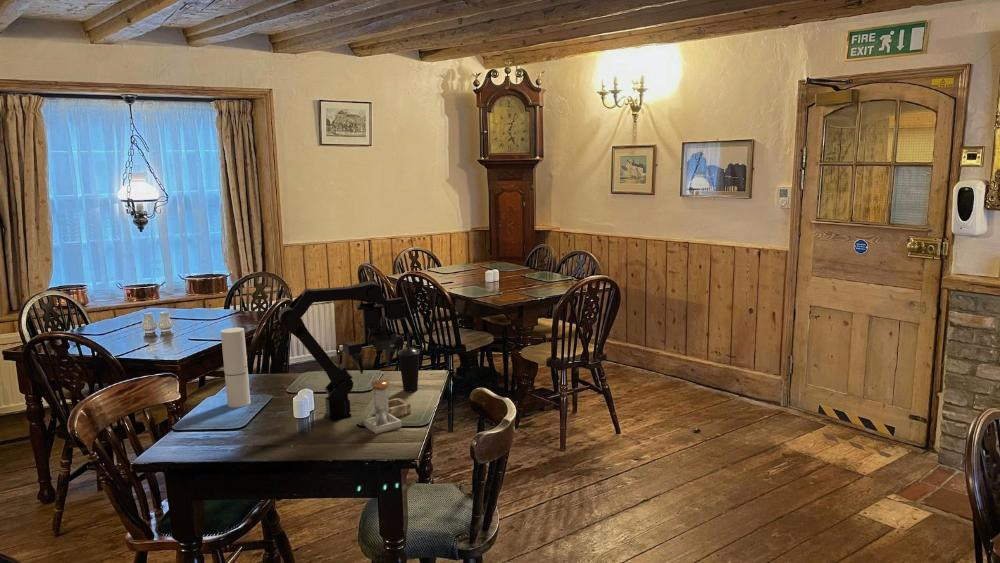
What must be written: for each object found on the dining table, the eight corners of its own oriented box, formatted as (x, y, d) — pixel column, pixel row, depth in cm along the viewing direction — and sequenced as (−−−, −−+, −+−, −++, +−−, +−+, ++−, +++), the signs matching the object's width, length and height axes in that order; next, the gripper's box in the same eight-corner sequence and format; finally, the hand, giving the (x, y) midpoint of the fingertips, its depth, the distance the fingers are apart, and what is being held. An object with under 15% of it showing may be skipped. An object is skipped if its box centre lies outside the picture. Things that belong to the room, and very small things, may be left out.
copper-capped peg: (372, 427, 209) (370, 385, 206) (376, 421, 214) (373, 380, 211) (389, 427, 209) (387, 385, 206) (392, 421, 213) (390, 379, 211)
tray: (376, 433, 206) (376, 427, 205) (364, 425, 212) (363, 419, 212) (401, 427, 210) (401, 420, 210) (389, 419, 217) (388, 413, 217)
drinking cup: (420, 393, 241) (417, 335, 237) (397, 393, 241) (395, 336, 237) (423, 386, 248) (420, 330, 245) (401, 386, 248) (398, 330, 245)
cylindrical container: (254, 400, 238) (247, 327, 233) (244, 407, 231) (237, 332, 226) (233, 400, 238) (227, 327, 234) (223, 407, 231) (216, 332, 227)
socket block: (388, 419, 217) (387, 409, 217) (376, 412, 224) (376, 403, 223) (410, 413, 222) (410, 404, 221) (399, 406, 228) (398, 397, 227)
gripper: (355, 331, 209) (358, 382, 211) (411, 322, 219) (413, 370, 222) (340, 325, 218) (343, 374, 220) (394, 316, 228) (397, 363, 231)
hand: (375, 370), depth 223 cm, fingers open, 9 cm apart
